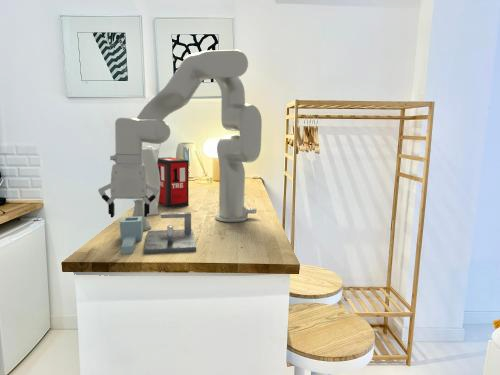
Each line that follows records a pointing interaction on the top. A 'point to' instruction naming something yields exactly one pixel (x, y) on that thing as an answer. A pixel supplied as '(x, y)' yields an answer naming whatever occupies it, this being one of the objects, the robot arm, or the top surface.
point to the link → (130, 233)
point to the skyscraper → (151, 175)
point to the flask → (141, 213)
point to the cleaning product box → (173, 182)
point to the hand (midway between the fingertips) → (129, 216)
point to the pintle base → (164, 247)
